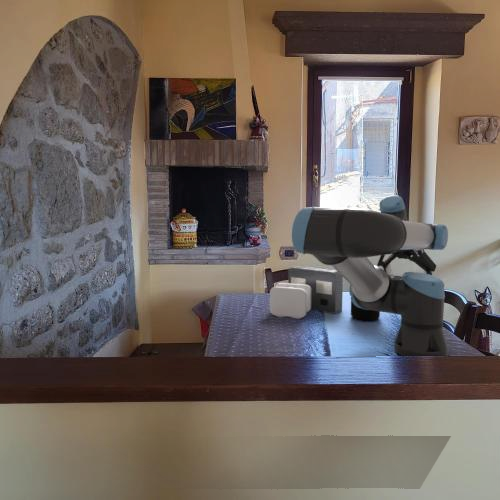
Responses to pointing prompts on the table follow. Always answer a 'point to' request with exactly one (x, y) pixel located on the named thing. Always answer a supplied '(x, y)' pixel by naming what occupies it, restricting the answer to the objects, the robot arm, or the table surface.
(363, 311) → the coffee jar
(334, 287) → the box
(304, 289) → the cable organizer
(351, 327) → the table surface
